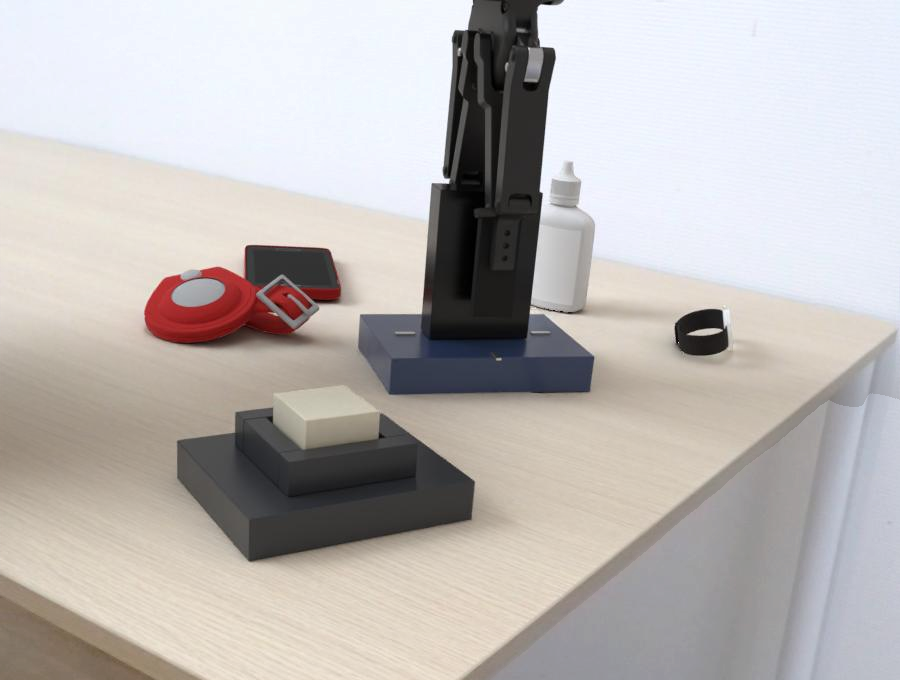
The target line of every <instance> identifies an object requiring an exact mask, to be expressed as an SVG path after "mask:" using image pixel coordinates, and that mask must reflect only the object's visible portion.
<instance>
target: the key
mask: <svg viewBox="0 0 900 680" xmlns="http://www.w3.org/2000/svg"><path fill="white" fill-rule="evenodd" d="M272 404H273V405H272V407H273V424H274V425H275V426H276V427H277V428H278V429H279V430H280V431H281V432H283V433H284V434H285V435H286V436H287V437H288V438H289V439H290V440H292V441H293V442H294V443H295V444H296V445H297V446H298V447H299V448H301V449H302V450H304V449H311V448H318V447H325V446H332V445H339V444H346V443H353V442H360V441H367V440H374V439H378V436H379V420H380V414H381V411H380V409H378V408H377V407H375V405H373V404H372V403H370V402H368V401H367V400H366V399H364V398H363V397H362V396H361V395H359V394H358V393H356V392H355V391H354V390H353V389H351V388H350V387H348V386H347V385H345V384H342V385H334V386H326V387H317V388H316V387H315V388H308V389H307V388H306V389H298V390H290V391H289V390H288V391H281V392H273V401H272Z"/></svg>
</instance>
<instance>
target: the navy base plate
mask: <svg viewBox="0 0 900 680" xmlns="http://www.w3.org/2000/svg"><path fill="white" fill-rule="evenodd" d="M421 319H422V313H360V314H359V320H358V321H359V323H358V342H357V348H358V349H359V351H360V352H361V354H362V355H363V357H364V358H365V360H366V361H367V363H368V364H369V366H370V367H371V369H372V370H373V372H374V374H375V376H376V377H377V378H378V381H380V383H381V384H382V386H383V387H384V390H385V391H386V392H387V394H388V395H390V396H391V395H392V396H393V395H394V396H396V395H441V394H444V395H446V394H494V393H502V394H503V393H570V392H571V393H572V392H590V391H591V387H592V381H593V380H592V379H593V372H594V366H595V365H594V364H595V355H594V354H592V353H591V352H590V351H589V350H587V349H586V348H585V347H584V346H583V345H581V344H580V343H579V342H578V341H576V340H575V339H574V338H573V337H572V336H570V335H569V334H568V333H567V332H566V330H564V329H562V328H561V327H560V326H559V325H557V323H555V322H554V321H552V320H551V318H550V317H548V316H547V315H545V314H544V313H530V316H529V325H528V334H527V338H526V339H429V338H428V336H427V335H426V334H425V333H424V332H423V331H422V329H421Z"/></svg>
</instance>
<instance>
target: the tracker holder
mask: <svg viewBox="0 0 900 680" xmlns="http://www.w3.org/2000/svg"><path fill="white" fill-rule="evenodd" d="M280 282H283V283H284V284H285V285H286V286H287V287H286V286H282V285H277V284H278V283H280ZM318 311H320V305H319V304H317V303H316V301H314V299H310V298H309V297H308V296H307V295H306V294H305V293H303V292H302V291H301V290H300V289H299V288H298V287H297V286H296V285H294V284H293V283H292V282H291V281H290V280H289V279H288V278H286V277H285V276H284V275H280V276H279V277H277V278H276V279H275V280H273V281H272V282H271V283H269V284H268V285H267V286H265V287H264V288H263V289H260V288H257V287H255V286H253V285H252V284H251V283H250V282H248V281H247V280H246V279H245V277H242V276H240V275H239V274H237V273H235V272H234V271H231V270H230V269H227V268H225V267H221V266H214V267H208V268H203V269H188V270H186V271H184V272H182V273H179V274H175V275H170V276H166V277H164V278H163V279H161V281H159V283H158V285H157V286H156V288H154V290H153V291H152V293H151V295H150V296H149V298H148V300H147V301H146V304H145V307H144V312H143V315H144V323H145V326H146V328H147V329H148V331H149V332H150V333H151V334H153V335H154V336H155V337H158V338H159V339H163V340H166V341H169V342H173V343H181V344H182V343H183V344H192V343H202V342H208V341H212V340H216V339H219V338H222V337H225V336H228V335H229V334H231V333H234V332H236V331H237V330H239V329H241V327H243V326H247V327H249V328H252V329H254V330H258V331H259V332H263V333H267V334H274V335H290V334H293V333H294V332H295V331H298V330H299V329H300V328H301V327H302V326H303V325H305V324H306V323H307V322H308V321H309V320H310V319H311V317H313V316H314V315H315V314H316V313H317V312H318Z"/></svg>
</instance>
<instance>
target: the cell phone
mask: <svg viewBox="0 0 900 680" xmlns="http://www.w3.org/2000/svg"><path fill="white" fill-rule="evenodd" d="M243 256H244V257H243V259H244V279H246V280H247V281H248V282H250V283H251V284H252V285H253V286H255V287H257V288H260V289H263V288H264V287H265V286H267V285H268V284H269V283H271V282H272V281H273V280H275V279H276V278H277V277H279V276H280V275H284V276H285V277H286V278H288V279H289V280H290V281H291V282H292V283H293V284H294V285H296V286H297V287H298V288H299V289H300V290H301V291H302V292H303V293H305V294H306V295H307V296H308V297H309V298H310V299H311V300H323V301H324V300H325V301H326V300H327V301H328V300H331V301H332V300H338V299H340V298H341V296H342V285H341V281H340V278H339V275H338V271H337V268H336V264H335V261H334V258H333V254H332V251H331V250H330V249H329V248H326V247H314V246H292V245H291V246H289V245H267V244H247V245H246V246H245V247H244V255H243ZM277 285H282V286H286V285H285V284H284V283H283V282H280V283H278V284H277ZM286 287H287V286H286Z"/></svg>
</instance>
